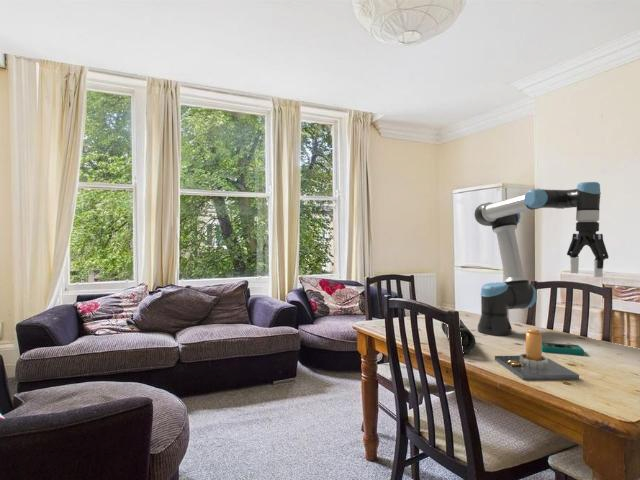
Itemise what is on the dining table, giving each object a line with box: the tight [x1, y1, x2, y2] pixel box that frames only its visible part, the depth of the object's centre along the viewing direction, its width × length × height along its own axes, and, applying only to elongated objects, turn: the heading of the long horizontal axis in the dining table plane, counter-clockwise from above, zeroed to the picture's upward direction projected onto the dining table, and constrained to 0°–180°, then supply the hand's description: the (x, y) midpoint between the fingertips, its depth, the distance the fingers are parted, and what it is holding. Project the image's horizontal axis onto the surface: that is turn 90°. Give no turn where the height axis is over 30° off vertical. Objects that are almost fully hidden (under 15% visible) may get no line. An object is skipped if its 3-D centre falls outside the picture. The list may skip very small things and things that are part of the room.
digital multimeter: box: [542, 341, 585, 356], centre depth 152 cm, size 7×15×3 cm, turn 69°
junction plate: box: [494, 353, 580, 381], centre depth 132 cm, size 20×18×4 cm
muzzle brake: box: [441, 319, 476, 355], centre depth 162 cm, size 10×28×10 cm, turn 170°
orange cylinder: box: [525, 328, 543, 361], centre depth 132 cm, size 5×5×12 cm
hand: (585, 275), depth 151 cm, fingers open, 13 cm apart
